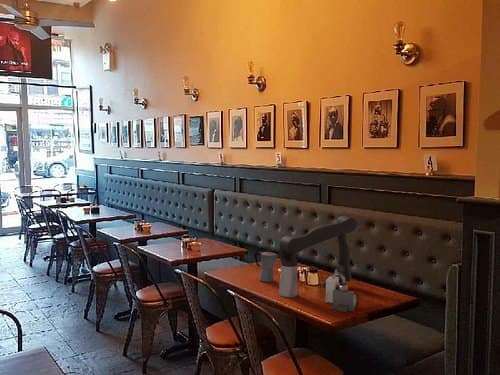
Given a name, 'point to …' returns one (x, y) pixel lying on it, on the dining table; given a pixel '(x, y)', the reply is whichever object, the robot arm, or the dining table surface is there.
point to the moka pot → (266, 265)
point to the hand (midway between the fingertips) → (331, 288)
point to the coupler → (344, 299)
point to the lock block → (331, 287)
